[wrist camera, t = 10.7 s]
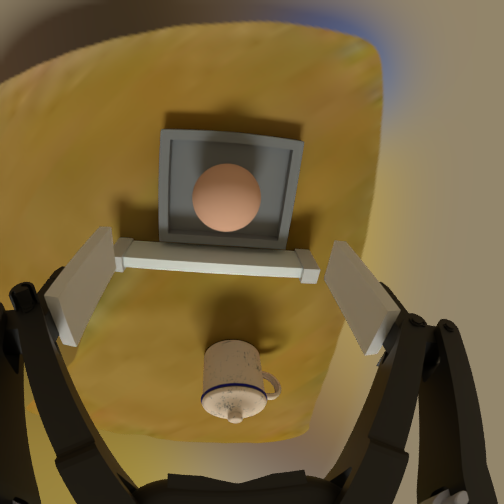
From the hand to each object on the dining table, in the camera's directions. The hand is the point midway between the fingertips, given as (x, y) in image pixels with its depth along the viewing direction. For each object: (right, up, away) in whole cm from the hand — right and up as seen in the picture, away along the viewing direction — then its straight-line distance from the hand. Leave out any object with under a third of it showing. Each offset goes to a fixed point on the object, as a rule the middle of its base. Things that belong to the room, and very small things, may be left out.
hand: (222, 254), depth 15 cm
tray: (-1, +7, +13) cm, 15 cm away
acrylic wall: (-3, 0, +16) cm, 17 cm away
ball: (-1, +5, +10) cm, 11 cm away
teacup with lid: (0, -17, +26) cm, 31 cm away
